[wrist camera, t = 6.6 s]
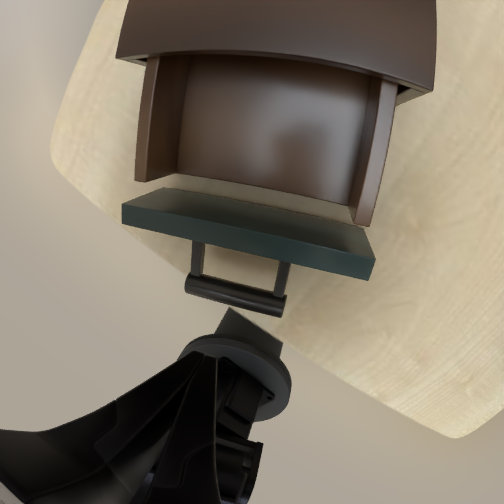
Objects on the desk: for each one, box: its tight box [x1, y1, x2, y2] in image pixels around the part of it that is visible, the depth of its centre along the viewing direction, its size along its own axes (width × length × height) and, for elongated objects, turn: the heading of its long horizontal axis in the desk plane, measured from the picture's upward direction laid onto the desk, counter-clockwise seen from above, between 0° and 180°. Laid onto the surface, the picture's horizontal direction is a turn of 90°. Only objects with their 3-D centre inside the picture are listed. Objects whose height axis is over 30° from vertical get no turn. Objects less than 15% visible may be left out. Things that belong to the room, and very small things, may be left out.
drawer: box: [122, 54, 398, 318], centre depth 14 cm, size 17×13×5 cm
